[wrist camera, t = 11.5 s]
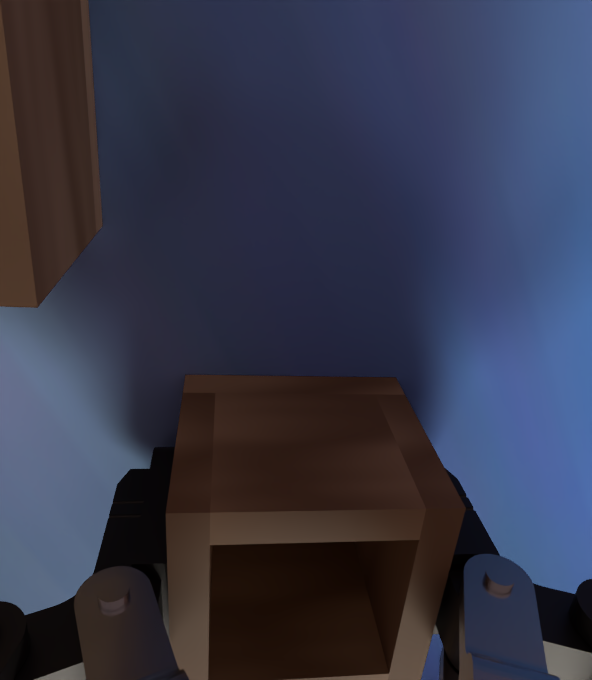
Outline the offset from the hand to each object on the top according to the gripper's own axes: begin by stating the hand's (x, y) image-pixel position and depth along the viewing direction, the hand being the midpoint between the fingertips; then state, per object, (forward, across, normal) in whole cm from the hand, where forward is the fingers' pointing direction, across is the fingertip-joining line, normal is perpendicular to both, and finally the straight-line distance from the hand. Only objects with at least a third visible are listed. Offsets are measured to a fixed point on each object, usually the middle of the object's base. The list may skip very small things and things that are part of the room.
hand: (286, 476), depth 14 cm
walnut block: (+1, 0, 0) cm, 1 cm away
